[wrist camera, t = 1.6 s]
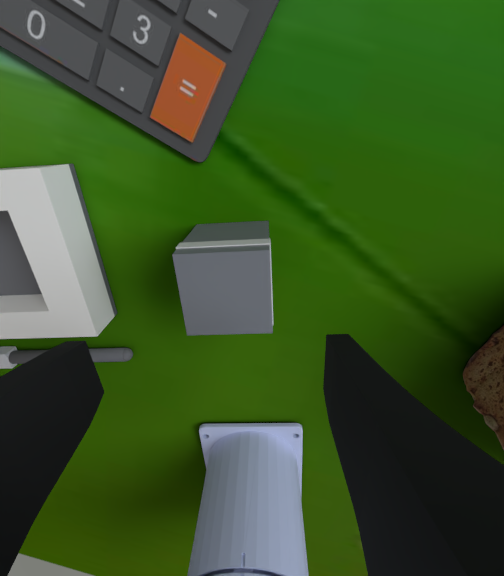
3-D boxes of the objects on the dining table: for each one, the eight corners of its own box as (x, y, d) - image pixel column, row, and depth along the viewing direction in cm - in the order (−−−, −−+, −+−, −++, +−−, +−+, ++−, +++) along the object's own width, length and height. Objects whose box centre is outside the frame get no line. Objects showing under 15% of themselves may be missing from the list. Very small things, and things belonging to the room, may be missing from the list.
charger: (271, 286, 18) (273, 333, 14) (205, 289, 19) (186, 336, 14) (269, 219, 17) (270, 248, 12) (196, 223, 17) (170, 253, 12)
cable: (136, 357, 21) (131, 365, 20) (-2, 360, 22) (-12, 368, 21) (132, 343, 21) (127, 351, 20) (-9, 346, 21) (-20, 355, 20)
